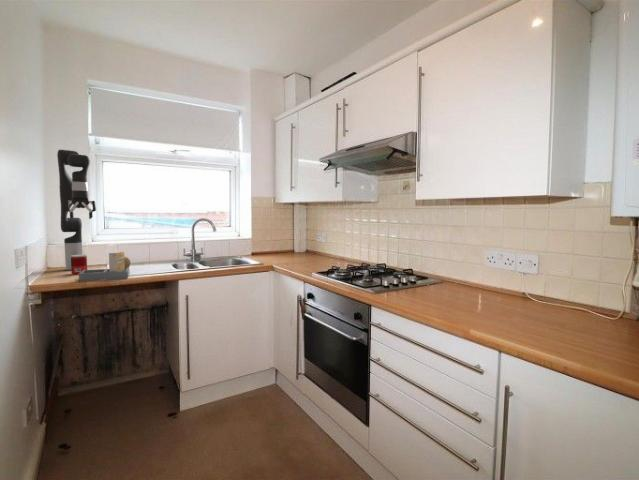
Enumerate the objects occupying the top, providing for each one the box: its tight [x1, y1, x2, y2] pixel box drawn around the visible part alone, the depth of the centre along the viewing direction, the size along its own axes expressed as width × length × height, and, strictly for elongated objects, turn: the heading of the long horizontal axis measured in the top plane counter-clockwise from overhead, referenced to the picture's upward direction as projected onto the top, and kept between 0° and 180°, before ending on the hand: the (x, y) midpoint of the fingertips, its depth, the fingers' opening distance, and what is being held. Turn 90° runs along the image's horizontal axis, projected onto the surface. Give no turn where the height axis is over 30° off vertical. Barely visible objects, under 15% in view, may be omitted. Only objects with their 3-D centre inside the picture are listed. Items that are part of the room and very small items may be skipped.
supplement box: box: [108, 251, 125, 272], centre depth 201 cm, size 8×5×13 cm, turn 3°
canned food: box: [70, 254, 88, 276], centre depth 212 cm, size 8×8×11 cm
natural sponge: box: [124, 256, 131, 269], centre depth 217 cm, size 9×9×10 cm
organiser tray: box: [78, 267, 130, 282], centre depth 199 cm, size 13×23×4 cm, turn 115°
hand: (81, 218), depth 201 cm, fingers open, 8 cm apart
